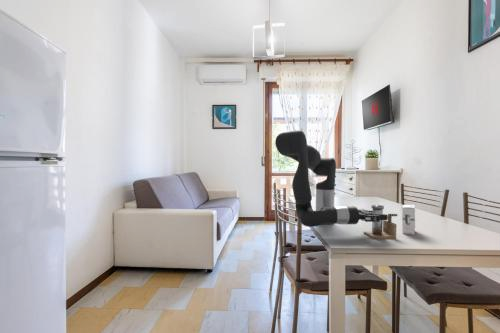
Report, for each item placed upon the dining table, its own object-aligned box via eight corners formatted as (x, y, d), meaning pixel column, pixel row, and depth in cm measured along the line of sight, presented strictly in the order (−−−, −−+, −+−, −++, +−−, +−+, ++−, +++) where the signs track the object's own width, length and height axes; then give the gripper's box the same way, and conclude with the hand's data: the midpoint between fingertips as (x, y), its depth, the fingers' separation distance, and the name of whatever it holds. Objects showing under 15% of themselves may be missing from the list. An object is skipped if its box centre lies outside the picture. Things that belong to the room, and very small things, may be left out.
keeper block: (363, 233, 125) (364, 212, 125) (390, 233, 126) (391, 212, 126) (372, 238, 117) (373, 215, 117) (401, 238, 118) (402, 215, 118)
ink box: (402, 229, 134) (403, 204, 133) (415, 230, 131) (415, 205, 131) (401, 233, 126) (402, 206, 126) (414, 235, 124) (415, 207, 123)
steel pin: (368, 232, 123) (369, 204, 123) (379, 232, 124) (380, 204, 124) (374, 235, 119) (375, 206, 118) (385, 235, 119) (386, 206, 119)
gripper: (352, 209, 113) (391, 209, 114) (338, 203, 127) (373, 203, 128) (351, 228, 113) (391, 227, 114) (338, 220, 127) (372, 220, 128)
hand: (381, 215), depth 121 cm, fingers open, 8 cm apart
